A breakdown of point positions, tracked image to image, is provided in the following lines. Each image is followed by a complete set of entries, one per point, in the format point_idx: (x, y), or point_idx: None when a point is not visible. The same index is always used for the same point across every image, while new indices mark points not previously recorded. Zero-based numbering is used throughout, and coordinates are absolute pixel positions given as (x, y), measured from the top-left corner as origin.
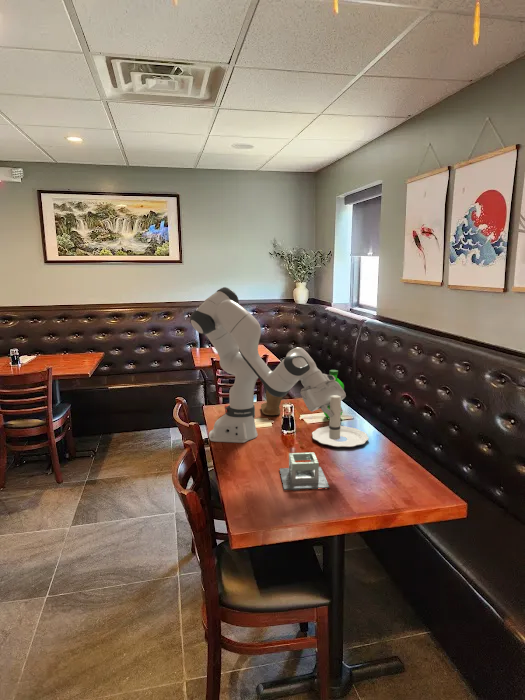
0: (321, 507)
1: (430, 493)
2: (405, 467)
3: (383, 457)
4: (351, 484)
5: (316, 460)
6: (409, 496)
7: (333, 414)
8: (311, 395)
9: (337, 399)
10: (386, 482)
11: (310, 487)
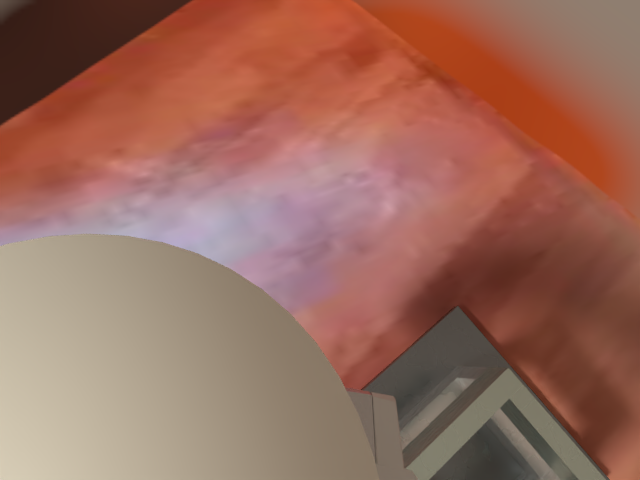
0: (588, 270)
1: (266, 13)
2: (90, 119)
3: (15, 225)
4: (362, 248)
5: (487, 398)
6: (325, 58)
7: (349, 388)
8: None
9: (285, 316)
10: (267, 143)
11: (516, 375)
